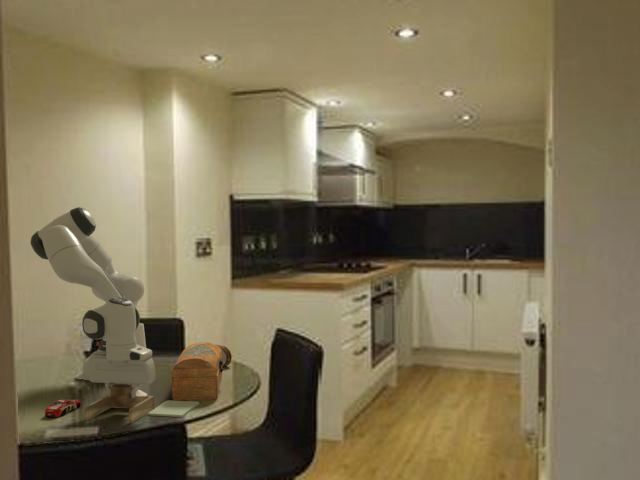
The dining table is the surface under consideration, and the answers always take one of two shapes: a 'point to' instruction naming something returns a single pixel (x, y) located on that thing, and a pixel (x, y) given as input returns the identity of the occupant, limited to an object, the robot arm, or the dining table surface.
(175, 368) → the wooden box
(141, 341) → the champagne flute
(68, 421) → the dining table surface
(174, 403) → the felt mat
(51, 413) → the race car
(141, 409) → the birch u-shaped frame
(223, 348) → the tin
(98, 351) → the robot arm
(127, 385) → the walnut block
